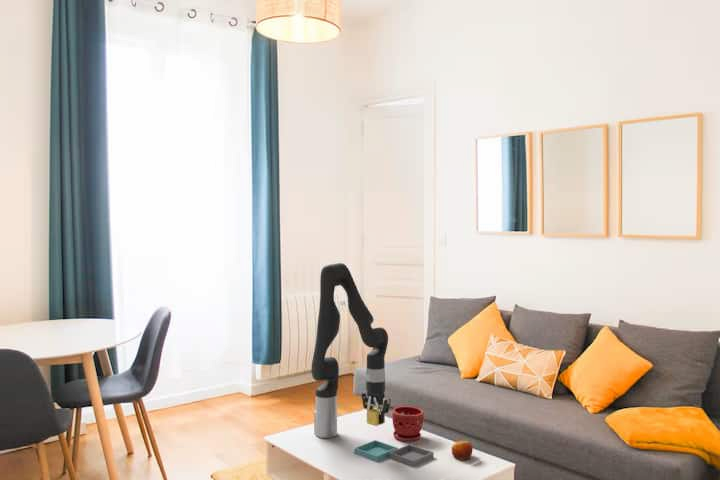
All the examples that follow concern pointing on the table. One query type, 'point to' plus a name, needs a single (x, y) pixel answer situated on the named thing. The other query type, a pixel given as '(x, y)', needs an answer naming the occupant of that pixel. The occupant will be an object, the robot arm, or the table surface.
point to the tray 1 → (374, 450)
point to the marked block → (373, 417)
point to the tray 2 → (411, 455)
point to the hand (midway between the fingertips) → (375, 421)
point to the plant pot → (407, 423)
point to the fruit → (462, 450)
